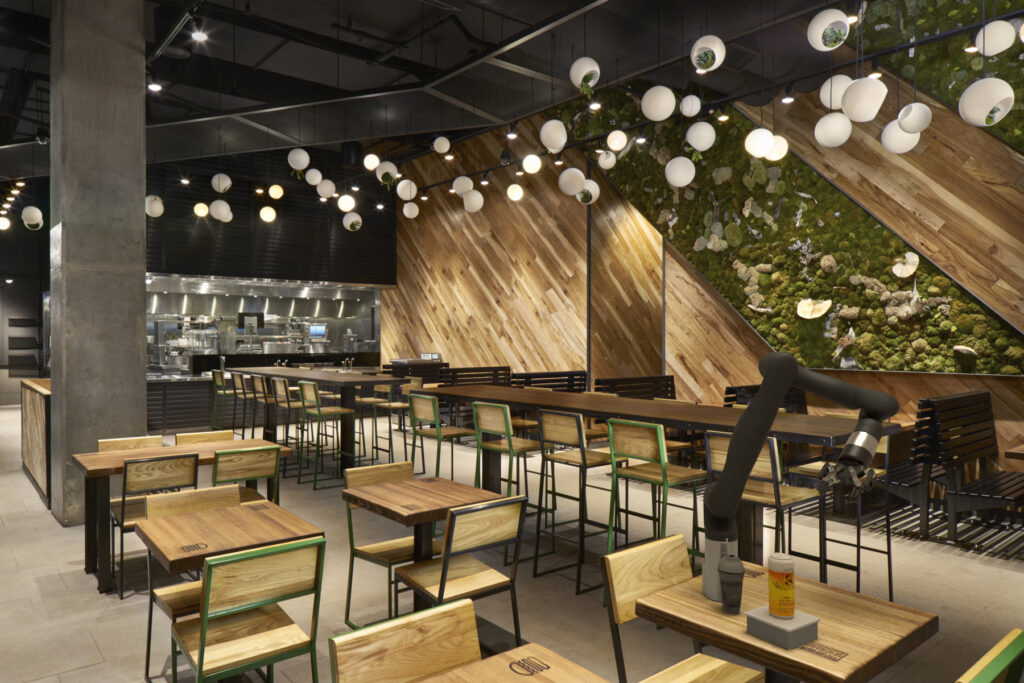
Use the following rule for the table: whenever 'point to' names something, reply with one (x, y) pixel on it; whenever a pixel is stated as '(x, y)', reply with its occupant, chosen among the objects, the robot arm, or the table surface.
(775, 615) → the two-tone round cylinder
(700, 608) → the table surface
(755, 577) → the table surface
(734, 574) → the beverage cup
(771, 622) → the grey square box
